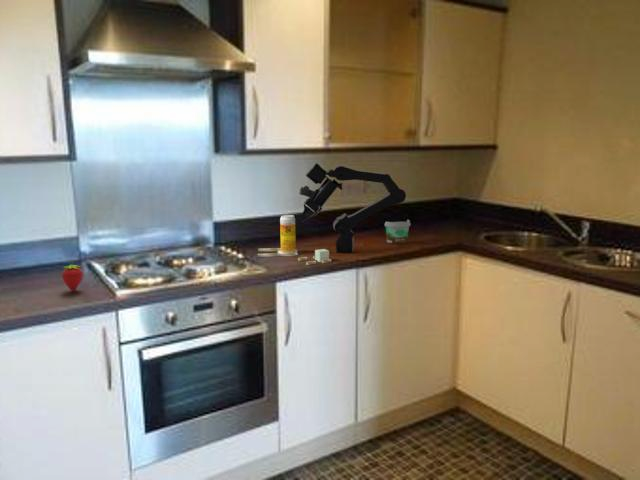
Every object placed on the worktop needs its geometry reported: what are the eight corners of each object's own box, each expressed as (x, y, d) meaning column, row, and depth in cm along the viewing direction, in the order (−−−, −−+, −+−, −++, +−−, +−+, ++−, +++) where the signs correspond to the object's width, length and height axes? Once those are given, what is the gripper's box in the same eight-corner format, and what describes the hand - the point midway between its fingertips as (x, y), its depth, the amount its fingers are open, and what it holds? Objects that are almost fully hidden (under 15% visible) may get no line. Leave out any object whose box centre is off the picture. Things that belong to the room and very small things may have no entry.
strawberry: (84, 287, 178) (81, 257, 176) (84, 293, 172) (81, 261, 170) (64, 289, 176) (61, 258, 174) (63, 295, 169) (60, 263, 167)
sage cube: (324, 258, 216) (324, 248, 215) (329, 261, 213) (329, 250, 212) (315, 260, 214) (315, 250, 213) (319, 262, 211) (319, 251, 210)
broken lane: (321, 257, 218) (321, 255, 218) (331, 261, 210) (331, 259, 210) (298, 260, 214) (298, 257, 213) (307, 264, 206) (307, 262, 206)
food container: (391, 246, 238) (391, 223, 236) (384, 243, 244) (384, 221, 242) (415, 243, 243) (416, 221, 241) (407, 241, 249) (408, 219, 247)
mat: (296, 250, 231) (296, 250, 231) (297, 254, 223) (297, 254, 223) (277, 251, 230) (277, 250, 230) (277, 255, 222) (277, 254, 222)
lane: (294, 250, 232) (294, 247, 232) (295, 255, 221) (295, 253, 221) (258, 251, 231) (258, 248, 231) (257, 256, 220) (257, 254, 220)
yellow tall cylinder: (282, 254, 223) (281, 217, 220) (279, 251, 229) (278, 215, 226) (297, 253, 224) (296, 216, 221) (294, 250, 230) (293, 214, 227)
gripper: (311, 180, 233) (288, 209, 234) (307, 177, 214) (282, 209, 216) (332, 196, 232) (309, 225, 234) (329, 196, 214) (304, 227, 215)
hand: (300, 221), depth 225 cm, fingers open, 9 cm apart
